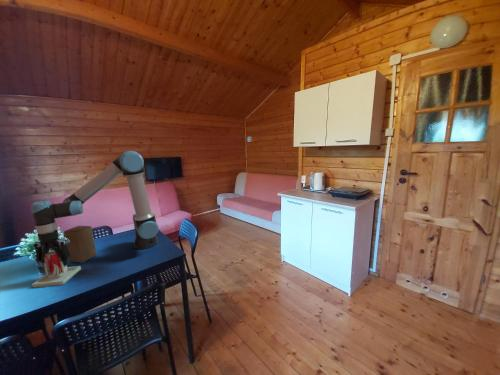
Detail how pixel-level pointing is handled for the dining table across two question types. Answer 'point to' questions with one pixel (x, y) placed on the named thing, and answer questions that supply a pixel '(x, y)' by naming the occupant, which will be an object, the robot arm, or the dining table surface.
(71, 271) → the tray
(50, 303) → the dining table surface
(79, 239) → the block
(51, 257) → the soda can
